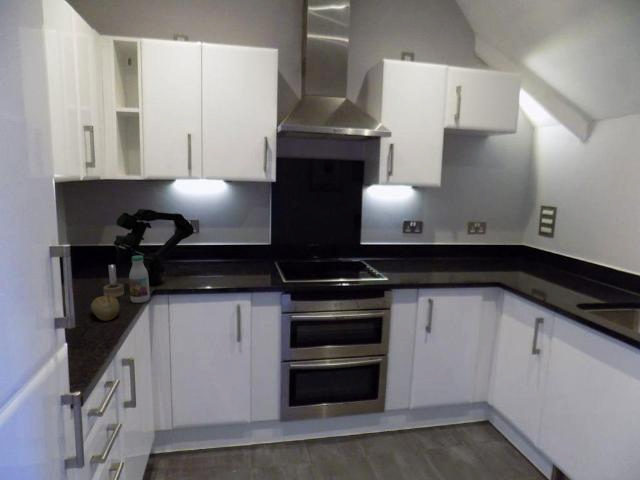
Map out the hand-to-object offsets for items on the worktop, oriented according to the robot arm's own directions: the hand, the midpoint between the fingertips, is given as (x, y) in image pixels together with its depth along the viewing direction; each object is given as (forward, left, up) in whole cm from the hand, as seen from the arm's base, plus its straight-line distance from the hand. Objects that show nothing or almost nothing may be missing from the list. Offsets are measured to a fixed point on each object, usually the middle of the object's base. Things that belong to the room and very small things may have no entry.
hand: (123, 264), depth 189 cm
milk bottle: (+7, +16, -13) cm, 22 cm away
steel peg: (+6, 0, -13) cm, 14 cm away
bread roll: (+26, +18, -13) cm, 35 cm away
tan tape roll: (+6, 0, -13) cm, 14 cm away
